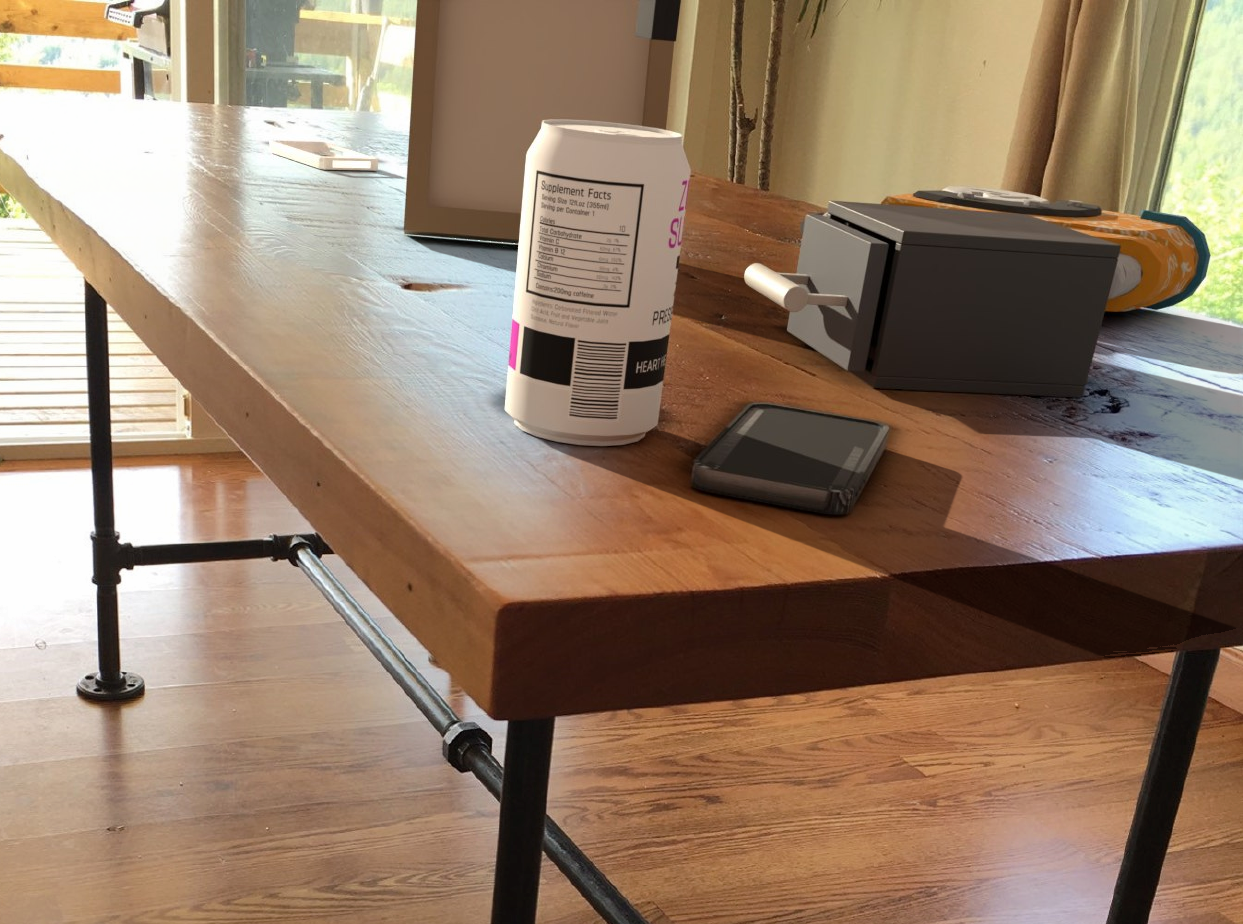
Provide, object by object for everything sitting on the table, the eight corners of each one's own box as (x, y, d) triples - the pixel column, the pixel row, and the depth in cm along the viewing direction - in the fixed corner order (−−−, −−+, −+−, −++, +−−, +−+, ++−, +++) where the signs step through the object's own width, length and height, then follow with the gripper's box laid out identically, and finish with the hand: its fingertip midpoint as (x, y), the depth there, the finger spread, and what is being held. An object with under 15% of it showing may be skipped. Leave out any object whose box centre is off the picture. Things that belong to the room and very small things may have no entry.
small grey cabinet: (873, 388, 96) (903, 230, 92) (804, 343, 107) (828, 200, 103) (1082, 398, 99) (1122, 245, 94) (994, 352, 110) (1025, 214, 105)
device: (1150, 236, 112) (790, 175, 127) (1120, 348, 116) (774, 277, 131) (1228, 217, 129) (901, 166, 144) (1199, 316, 132) (884, 256, 148)
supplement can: (477, 410, 83) (500, 115, 76) (607, 404, 86) (639, 122, 80) (548, 453, 76) (580, 135, 70) (685, 445, 80) (728, 142, 73)
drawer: (782, 368, 95) (804, 238, 91) (727, 327, 105) (745, 209, 101) (1042, 380, 98) (1072, 255, 95) (965, 340, 108) (990, 226, 105)
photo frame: (653, 263, 132) (693, -60, 121) (403, 241, 131) (420, -87, 120) (634, 236, 146) (669, -57, 134) (407, 216, 144) (423, -81, 133)
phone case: (267, 152, 181) (321, 170, 170) (267, 139, 180) (322, 157, 169) (323, 153, 184) (380, 171, 173) (323, 141, 184) (381, 158, 173)
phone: (688, 465, 72) (752, 399, 85) (684, 488, 73) (749, 419, 85) (853, 495, 70) (894, 423, 83) (849, 519, 71) (889, 443, 83)
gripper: (802, -441, 81) (735, 44, 91) (569, -484, 77) (527, 26, 88) (867, -473, 74) (787, 52, 85) (616, -521, 71) (565, 33, 81)
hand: (655, 38), depth 86 cm, fingers closed
